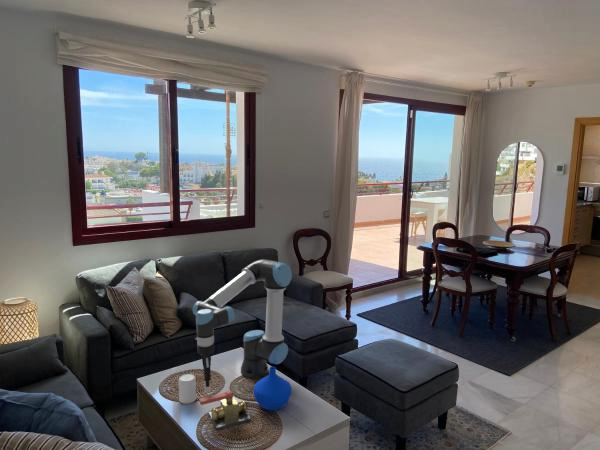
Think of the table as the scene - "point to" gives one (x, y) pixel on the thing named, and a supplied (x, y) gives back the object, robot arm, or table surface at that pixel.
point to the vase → (272, 391)
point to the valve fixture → (229, 413)
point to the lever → (216, 397)
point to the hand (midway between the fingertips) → (207, 391)
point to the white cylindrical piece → (187, 388)
